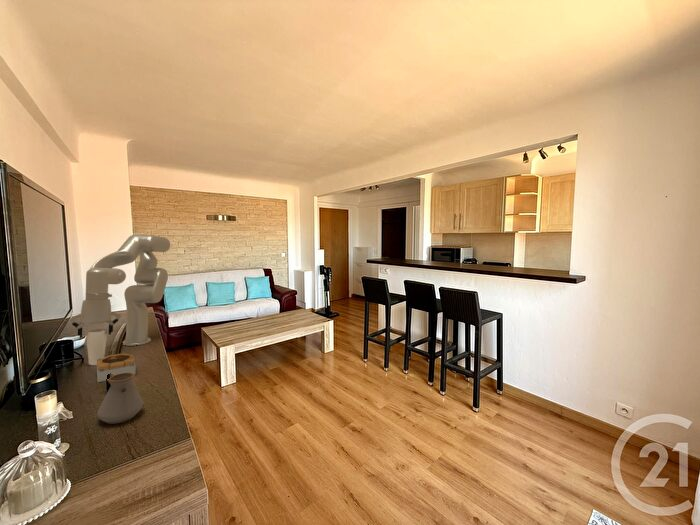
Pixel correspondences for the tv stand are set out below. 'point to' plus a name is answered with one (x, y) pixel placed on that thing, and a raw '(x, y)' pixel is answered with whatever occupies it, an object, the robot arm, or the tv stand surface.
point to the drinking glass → (96, 345)
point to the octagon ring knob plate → (115, 365)
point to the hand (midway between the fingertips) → (95, 335)
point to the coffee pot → (120, 400)
